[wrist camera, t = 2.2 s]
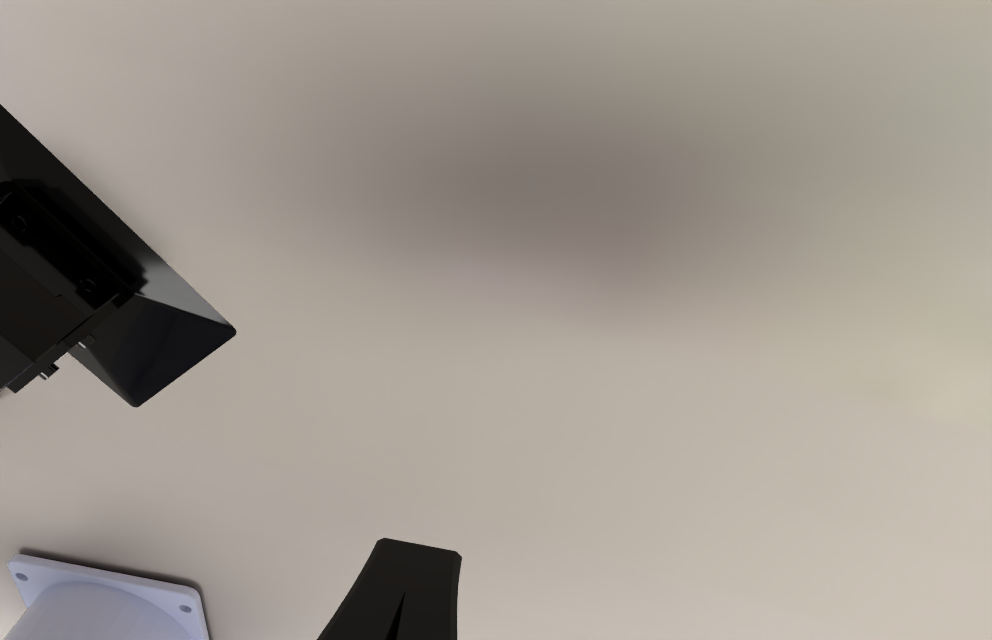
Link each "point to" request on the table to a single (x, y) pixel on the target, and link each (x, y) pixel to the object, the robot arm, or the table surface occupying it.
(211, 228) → the table surface
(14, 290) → the black bevelled base
